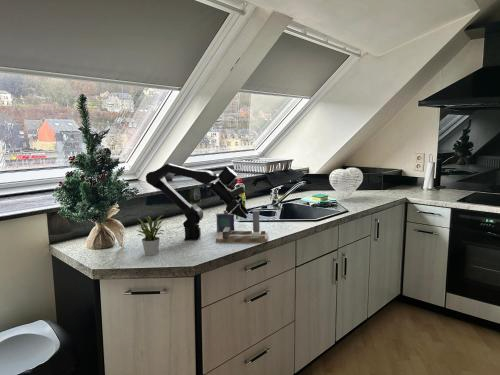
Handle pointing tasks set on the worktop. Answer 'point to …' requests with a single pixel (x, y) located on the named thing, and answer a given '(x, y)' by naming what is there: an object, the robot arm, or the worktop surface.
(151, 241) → the house plant
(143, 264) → the worktop surface
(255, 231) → the handle
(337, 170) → the heart
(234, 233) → the bench
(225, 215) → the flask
